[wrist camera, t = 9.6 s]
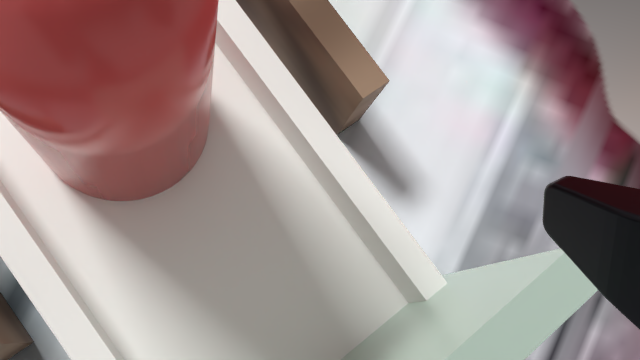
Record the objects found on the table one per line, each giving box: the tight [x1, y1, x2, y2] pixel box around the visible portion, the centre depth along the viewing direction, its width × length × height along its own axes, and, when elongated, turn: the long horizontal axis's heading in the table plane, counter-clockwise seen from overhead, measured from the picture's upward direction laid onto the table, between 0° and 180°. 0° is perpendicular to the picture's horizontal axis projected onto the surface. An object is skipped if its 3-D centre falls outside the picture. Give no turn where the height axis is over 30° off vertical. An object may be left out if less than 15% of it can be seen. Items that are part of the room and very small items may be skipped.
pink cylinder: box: [0, 0, 219, 201], centre depth 15 cm, size 6×6×13 cm
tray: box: [0, 0, 598, 360], centre depth 18 cm, size 18×12×9 cm
